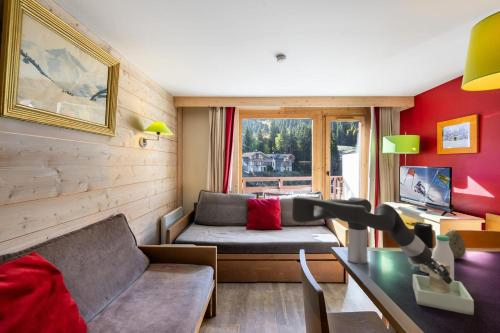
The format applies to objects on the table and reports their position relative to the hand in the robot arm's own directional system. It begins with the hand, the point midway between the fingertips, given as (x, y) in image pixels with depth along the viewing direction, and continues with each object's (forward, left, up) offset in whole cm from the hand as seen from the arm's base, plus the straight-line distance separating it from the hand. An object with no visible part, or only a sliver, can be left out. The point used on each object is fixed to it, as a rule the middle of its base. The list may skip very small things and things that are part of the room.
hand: (444, 279), depth 99 cm
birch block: (-2, -1, -4) cm, 5 cm away
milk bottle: (+2, +17, -8) cm, 19 cm away
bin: (-2, -1, -7) cm, 8 cm away
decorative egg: (+13, +55, -8) cm, 57 cm away
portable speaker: (-2, +44, -8) cm, 45 cm away
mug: (-4, +28, -8) cm, 29 cm away
